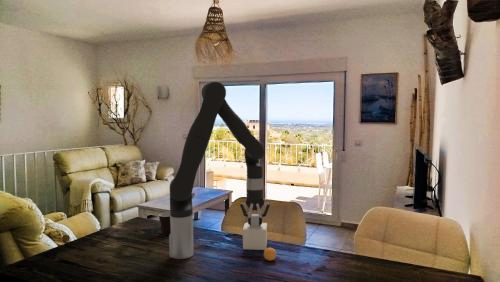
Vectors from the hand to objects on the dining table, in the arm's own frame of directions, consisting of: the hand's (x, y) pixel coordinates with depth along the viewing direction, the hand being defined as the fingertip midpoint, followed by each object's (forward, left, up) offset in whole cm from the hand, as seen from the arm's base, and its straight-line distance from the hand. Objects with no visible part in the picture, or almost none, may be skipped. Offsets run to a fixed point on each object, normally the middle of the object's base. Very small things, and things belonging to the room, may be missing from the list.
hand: (255, 225), depth 152 cm
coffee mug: (-45, +15, -9) cm, 48 cm away
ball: (+7, -16, -7) cm, 19 cm away
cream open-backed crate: (0, 0, -9) cm, 9 cm away
